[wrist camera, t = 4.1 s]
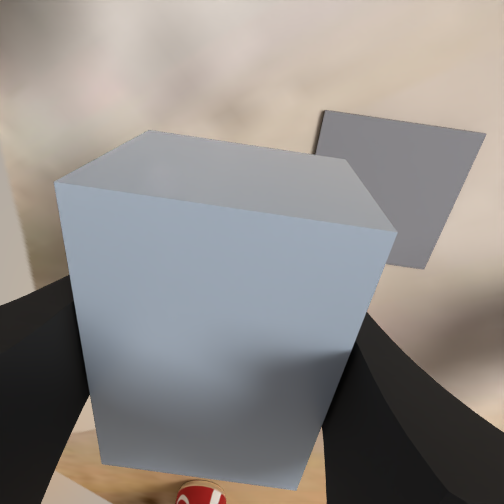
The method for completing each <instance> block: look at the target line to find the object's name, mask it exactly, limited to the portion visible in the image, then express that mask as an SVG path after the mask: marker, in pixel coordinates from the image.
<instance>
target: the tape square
mask: <svg viewBox="0 0 504 504" xmlns="http://www.w3.org/2000/svg"><path fill="white" fill-rule="evenodd" d="M485 136H486V134H485V133H479V132H472V131H465V130H458V129H452V128H445V127H438V126H431V125H424V124H418V123H411V122H404V121H397V120H390V119H384V118H377V117H370V116H363V115H356V114H350V113H343V112H336V111H329V110H325V112H324V117H323V121H322V126H321V130H320V135H319V139H318V144H317V148H316V153H315V155H319V156H326V157H333V158H339V159H346V161H347V162H348V163H349V165H350V166H351V168H352V169H353V170H354V172H355V173H356V175H357V176H358V177H359V179H360V180H361V182H362V183H363V184H364V186H365V187H366V189H367V190H368V191H369V193H370V194H371V196H372V197H373V198H374V200H375V201H376V203H377V204H378V205H379V207H380V208H381V210H382V211H383V212H384V214H385V215H386V217H387V218H388V219H389V221H390V222H391V224H392V225H393V226H394V228H395V229H396V231H397V232H398V233H397V236H396V238H395V241H394V243H393V246H392V248H391V251H390V254H389V256H388V259H387V261H386V264H390V265H396V266H403V267H410V268H417V269H425V266H426V264H427V262H428V260H429V258H430V256H431V253H432V251H433V249H434V247H435V245H436V243H437V240H438V238H439V236H440V234H441V232H442V230H443V227H444V225H445V223H446V221H447V219H448V217H449V214H450V212H451V210H452V208H453V206H454V204H455V201H456V199H457V197H458V195H459V193H460V191H461V188H462V186H463V184H464V182H465V180H466V178H467V175H468V173H469V171H470V169H471V167H472V164H473V162H474V160H475V158H476V156H477V154H478V151H479V149H480V147H481V145H482V143H483V141H484V138H485Z"/></svg>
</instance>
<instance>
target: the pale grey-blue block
mask: <svg viewBox="0 0 504 504" xmlns="http://www.w3.org/2000/svg"><path fill="white" fill-rule="evenodd" d="M54 186H55V192H56V198H57V204H58V210H59V216H60V221H61V227H62V233H63V239H64V245H65V251H66V257H67V263H68V268H69V274H70V280H71V286H72V292H73V298H74V304H75V309H76V315H77V321H78V327H79V333H80V339H81V345H82V350H83V356H84V362H85V368H86V374H87V380H88V386H89V392H90V397H91V403H92V409H93V415H94V421H95V427H96V433H97V438H98V444H99V450H100V456H101V462H102V464H105V465H112V466H119V467H127V468H134V469H141V470H149V471H156V472H163V473H171V474H178V475H185V476H193V477H200V478H207V479H215V480H222V481H229V482H237V483H244V484H251V485H259V486H266V487H273V488H281V489H288V490H295V491H296V490H297V488H298V485H299V482H300V480H301V477H302V475H303V472H304V470H305V467H306V465H307V462H308V460H309V457H310V454H311V452H312V449H313V447H314V444H315V442H316V439H317V437H318V434H319V432H320V429H321V426H322V424H323V421H324V419H325V416H326V414H327V411H328V409H329V406H330V404H331V401H332V399H333V396H334V393H335V391H336V388H337V386H338V383H339V381H340V378H341V376H342V373H343V371H344V368H345V365H346V363H347V360H348V358H349V355H350V353H351V350H352V348H353V345H354V343H355V340H356V337H357V335H358V332H359V330H360V327H361V325H362V322H363V320H364V317H365V315H366V312H367V309H368V307H369V304H370V302H371V299H372V297H373V294H374V292H375V289H376V287H377V284H378V281H379V279H380V276H381V274H382V271H383V269H384V266H385V264H386V261H387V259H388V256H389V254H390V251H391V248H392V246H393V243H394V241H395V238H396V236H397V233H398V232H397V231H396V229H395V228H394V226H393V225H392V224H391V222H390V221H389V219H388V218H387V217H386V215H385V214H384V212H383V211H382V210H381V208H380V207H379V205H378V204H377V203H376V201H375V200H374V198H373V197H372V196H371V194H370V193H369V191H368V190H367V189H366V187H365V186H364V184H363V183H362V182H361V180H360V179H359V177H358V176H357V175H356V173H355V172H354V170H353V169H352V168H351V166H350V165H349V163H348V162H347V161H346V159H339V158H333V157H326V156H319V155H313V154H306V153H299V152H293V151H286V150H279V149H273V148H266V147H259V146H253V145H246V144H239V143H232V142H226V141H219V140H212V139H206V138H199V137H192V136H186V135H179V134H172V133H166V132H159V131H152V130H148V131H146V132H144V133H142V134H141V135H139V136H137V137H135V138H133V139H131V140H130V141H128V142H126V143H124V144H122V145H120V146H119V147H117V148H115V149H113V150H111V151H109V152H108V153H106V154H104V155H102V156H100V157H98V158H97V159H95V160H93V161H91V162H89V163H87V164H86V165H84V166H82V167H80V168H78V169H76V170H74V171H73V172H71V173H69V174H67V175H65V176H63V177H62V178H60V179H58V180H56V181H54Z"/></svg>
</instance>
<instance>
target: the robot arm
mask: <svg viewBox="0 0 504 504" xmlns="http://www.w3.org/2000/svg"><path fill="white" fill-rule="evenodd" d="M89 395H90V392H89V386H88V380H87V374H86V368H85V362H84V356H83V350H82V345H81V339H80V333H79V327H78V321H77V315H76V309H75V304H74V298H73V292H72V286H71V280H70V275H68V276H66V277H64V278H62V279H60V280H58V281H56V282H53V283H51V284H49V285H47V286H45V287H43V288H41V289H39V290H36V291H34V292H32V293H30V294H28V295H26V296H23V297H21V298H19V299H17V300H14V301H11V302H9V303H6V304H4V305H1V306H0V504H41V502H42V499H43V497H44V494H45V492H46V490H47V487H48V485H49V482H50V480H51V477H52V475H53V473H54V471H55V468H56V466H57V464H58V461H59V459H60V457H61V455H62V452H63V450H64V448H65V446H66V443H67V441H68V439H69V437H70V434H71V432H72V430H73V428H74V426H75V424H76V421H77V419H78V417H79V415H80V413H81V411H82V408H83V406H84V405H85V403H86V401H87V399H88V397H89ZM322 431H323V440H324V457H325V473H326V495H327V504H504V432H502V431H501V430H499V429H498V428H496V427H495V426H493V425H492V424H491V423H489V422H488V421H486V420H485V419H484V418H482V417H481V416H479V415H478V414H477V413H475V412H474V411H473V410H471V409H470V408H469V407H467V406H466V405H465V404H464V403H462V402H461V401H460V400H458V399H457V398H456V397H454V396H453V395H452V394H451V393H449V392H448V391H447V390H446V389H444V388H443V387H442V386H441V385H440V384H438V383H437V382H436V381H435V380H434V379H433V378H431V377H430V376H429V375H428V374H427V373H426V372H425V371H424V370H422V369H421V368H420V367H419V366H418V365H417V364H416V363H415V362H414V361H412V360H411V359H410V358H409V357H408V356H407V355H406V354H405V353H404V352H403V351H402V350H401V349H400V348H399V347H398V346H397V345H396V344H395V343H394V342H393V341H392V340H391V339H390V337H389V336H388V335H387V334H386V333H385V332H384V331H383V330H382V329H381V328H380V326H379V325H378V324H377V323H376V322H375V321H374V320H373V319H372V317H371V316H370V315H369V314H368V313H367V312H366V315H365V317H364V320H363V322H362V325H361V327H360V330H359V332H358V335H357V337H356V340H355V343H354V345H353V348H352V350H351V353H350V355H349V358H348V360H347V363H346V365H345V368H344V371H343V373H342V376H341V378H340V381H339V383H338V386H337V388H336V391H335V393H334V396H333V399H332V401H331V404H330V406H329V409H328V411H327V414H326V416H325V419H324V421H323V424H322Z"/></svg>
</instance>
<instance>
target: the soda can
mask: <svg viewBox="0 0 504 504" xmlns="http://www.w3.org/2000/svg"><path fill="white" fill-rule="evenodd" d="M175 504H226V496H225V493H224V490H223V489H222V488H221V487H220V486H218V485H217V484H215V483H212V482H209V481H203V480H194V481H189V482H186V483H185V484H183V485H182V487H181V488H180V490H179V491H178V494H177V499H176V503H175Z"/></svg>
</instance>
